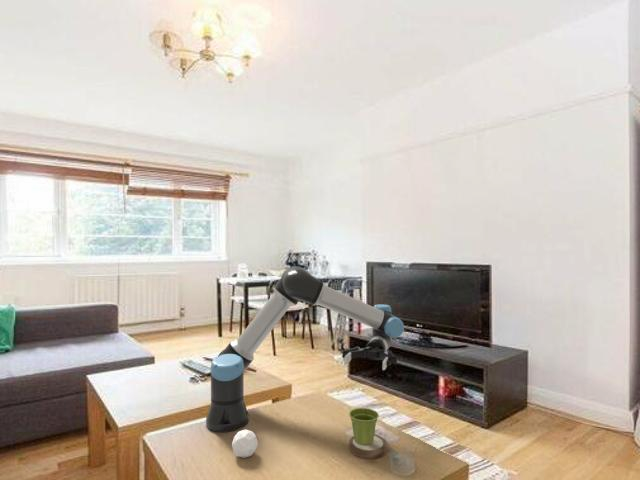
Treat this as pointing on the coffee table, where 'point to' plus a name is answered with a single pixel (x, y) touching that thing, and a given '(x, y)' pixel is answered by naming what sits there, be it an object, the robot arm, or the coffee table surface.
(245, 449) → the geometric ball
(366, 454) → the pedestal
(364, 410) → the plant pot
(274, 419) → the coffee table surface
